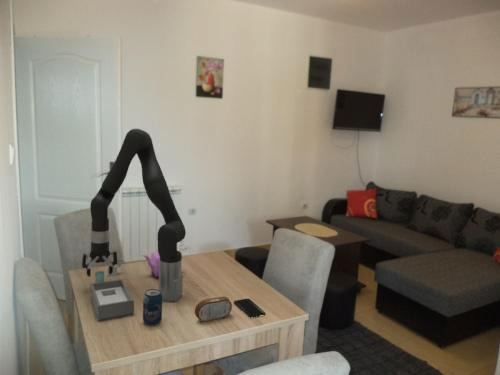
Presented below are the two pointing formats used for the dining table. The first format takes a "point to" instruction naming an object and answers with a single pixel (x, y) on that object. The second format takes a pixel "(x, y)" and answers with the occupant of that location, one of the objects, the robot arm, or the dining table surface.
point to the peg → (99, 276)
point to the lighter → (115, 268)
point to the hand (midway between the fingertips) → (99, 275)
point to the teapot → (154, 262)
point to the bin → (111, 300)
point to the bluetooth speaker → (213, 309)
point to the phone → (249, 307)
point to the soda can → (152, 307)
